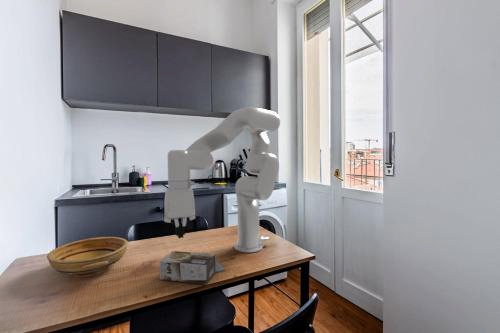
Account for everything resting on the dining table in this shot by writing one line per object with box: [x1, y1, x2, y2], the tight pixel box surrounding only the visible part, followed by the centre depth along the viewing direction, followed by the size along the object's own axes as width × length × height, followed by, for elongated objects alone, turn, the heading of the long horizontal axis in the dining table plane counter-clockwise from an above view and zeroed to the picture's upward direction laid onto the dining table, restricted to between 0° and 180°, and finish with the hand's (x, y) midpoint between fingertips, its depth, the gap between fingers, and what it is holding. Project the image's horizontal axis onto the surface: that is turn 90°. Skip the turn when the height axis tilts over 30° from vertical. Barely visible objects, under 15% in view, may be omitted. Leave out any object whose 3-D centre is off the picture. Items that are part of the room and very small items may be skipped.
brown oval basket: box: [46, 236, 129, 278], centre depth 89 cm, size 30×24×8 cm
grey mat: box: [214, 257, 225, 274], centre depth 90 cm, size 18×14×1 cm
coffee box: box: [159, 250, 216, 285], centre depth 83 cm, size 9×6×16 cm
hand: (180, 236), depth 88 cm, fingers closed
